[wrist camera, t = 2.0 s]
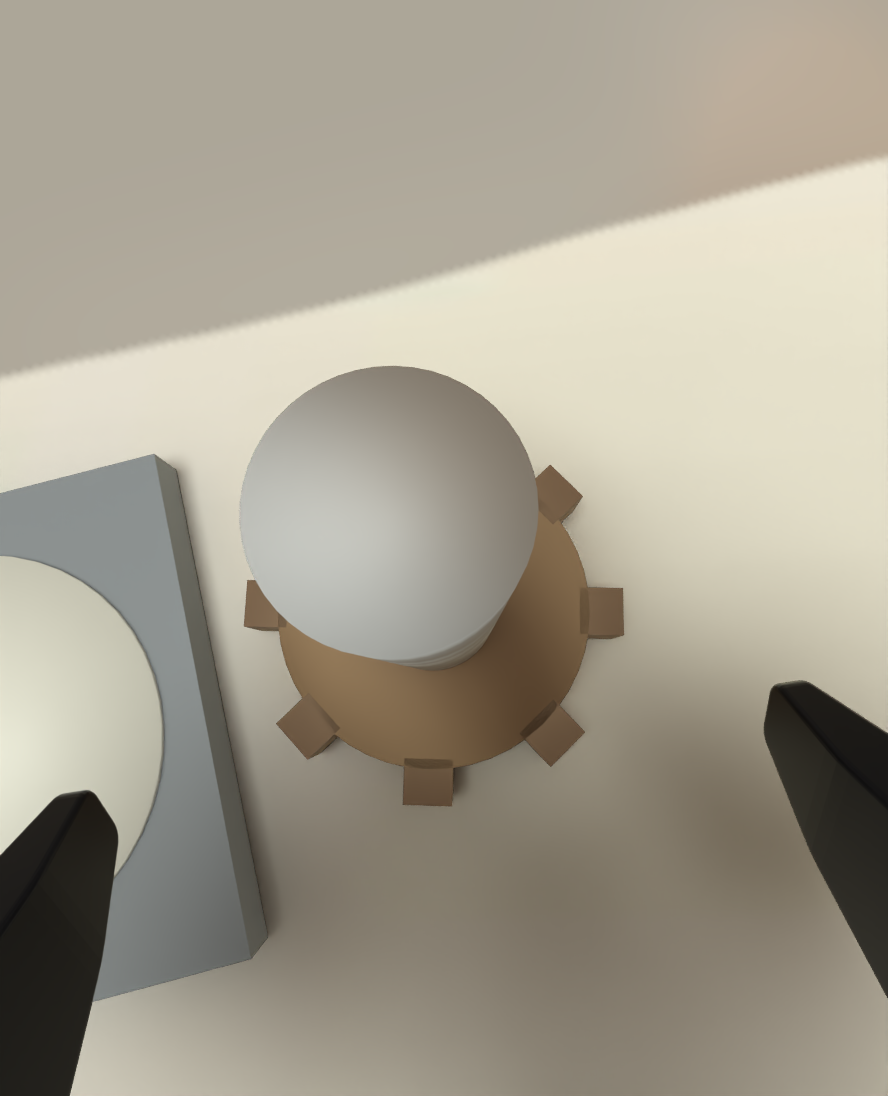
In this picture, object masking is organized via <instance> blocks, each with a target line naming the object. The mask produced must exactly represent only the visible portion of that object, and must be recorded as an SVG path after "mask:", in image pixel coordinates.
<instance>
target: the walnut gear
mask: <svg viewBox="0 0 888 1096" xmlns="http://www.w3.org/2000/svg"><path fill="white" fill-rule="evenodd" d="M582 497H583V496H582V495H581V494H580V493H579V492H578V491H577V490H576V489H575V488H574V487H573V486H572V485H571V484H570V483H569V482H568V481H567V480H566V479H564V478H563V477H562V476H561V475H560V474H559V473H558V472H557V471H556V470H555V469H554V468H553V467H552V466H551V465H549V466H548V467H547V468H546V469H545V470H544V471H543V472H542V473H541V474H540V475H539V476H538V477H537V478H536V479H535V476H534V471H533V468H532V466H531V463H530V460H529V457H528V454H527V452H526V450H525V448H524V446H523V444H522V442H521V440H520V438H519V436H518V435H517V433H516V432H515V430H514V429H513V428H512V426H511V425H510V423H509V422H508V421H507V419H506V418H505V417H504V416H503V415H502V414H501V413H500V412H499V411H498V409H497V408H496V407H495V406H493V405H492V404H491V403H490V402H489V401H488V400H486V399H485V398H484V397H483V396H482V395H480V394H479V393H477V392H476V391H474V390H473V389H471V388H470V387H468V386H466V385H465V384H463V383H460V382H458V381H456V380H454V379H452V378H450V377H448V376H445V375H442V374H439V373H436V372H433V371H429V370H424V369H419V368H414V367H402V366H382V367H371V368H366V369H360V370H355V371H352V372H348V373H345V374H342V375H339V376H336V377H334V378H332V379H329V380H327V381H325V382H323V383H321V384H319V385H317V386H316V387H314V388H312V389H311V390H309V391H307V392H306V393H304V394H303V395H302V396H300V397H299V398H298V399H296V400H295V401H294V402H293V403H291V404H290V405H289V406H288V407H287V408H286V409H285V410H284V411H283V412H282V413H281V414H280V415H279V416H278V417H277V418H276V419H275V421H274V422H273V423H272V424H271V426H270V427H269V428H268V430H267V431H266V432H265V434H264V435H263V437H262V439H261V440H260V442H259V444H258V445H257V447H256V449H255V451H254V453H253V456H252V458H251V460H250V463H249V465H248V467H247V471H246V475H245V478H244V482H243V485H242V492H241V499H240V530H241V538H242V544H243V548H244V552H245V555H246V559H247V562H248V564H249V567H250V569H251V572H252V574H253V576H254V579H255V580H247V592H246V605H245V619H244V627H248V628H252V629H257V630H261V631H279V634H280V642H281V647H282V651H283V654H284V658H285V662H286V665H287V668H288V670H289V672H290V675H291V677H292V680H293V682H294V684H295V686H296V688H297V689H298V691H299V693H300V694H301V696H302V698H303V699H302V700H301V701H299V702H298V703H297V704H296V705H295V706H294V707H293V708H292V709H291V710H290V711H289V712H288V713H287V714H286V715H285V716H284V717H283V718H281V719H280V720H279V721H278V722H277V723H276V724H277V725H278V726H279V728H280V729H281V730H282V731H283V732H284V733H285V734H286V736H287V737H288V738H289V739H290V740H291V741H292V742H293V744H294V745H295V746H296V747H297V748H298V749H299V750H300V752H301V753H302V754H303V755H304V756H305V757H306V758H307V760H308V759H310V758H312V757H314V756H316V755H318V754H320V753H321V752H322V751H323V750H324V749H325V748H326V747H327V746H328V745H329V744H330V743H332V742H333V741H334V740H335V739H336V738H337V737H339V738H341V739H342V740H343V741H345V742H346V743H347V744H349V745H350V746H352V747H354V748H356V749H358V750H359V751H361V752H363V753H365V754H367V755H369V756H371V757H374V758H377V759H379V760H382V761H384V762H387V763H391V764H395V765H400V766H404V786H403V805H426V806H452V800H453V771H454V768H456V767H461V766H467V765H472V764H475V763H478V762H481V761H484V760H487V759H490V758H493V757H495V756H497V755H499V754H501V753H503V752H505V751H507V750H509V749H511V748H512V747H514V746H516V745H517V744H519V743H520V742H522V741H523V740H526V741H527V742H528V743H529V745H530V746H531V747H532V748H533V749H534V750H535V751H536V752H537V753H538V754H539V755H540V756H541V757H542V758H543V759H544V760H545V761H546V762H547V763H548V765H549V766H550V767H551V766H552V765H553V764H554V763H555V762H556V761H557V760H558V759H559V758H560V757H561V756H562V755H563V754H564V753H565V752H566V751H567V750H568V749H569V748H570V747H571V746H572V745H573V744H574V743H575V742H576V741H577V740H578V739H579V738H580V737H581V736H582V735H583V734H584V733H585V732H584V730H583V729H582V728H581V727H580V726H579V725H578V724H577V723H576V722H575V721H574V720H573V719H572V718H571V717H570V716H569V715H568V714H567V713H566V712H565V711H564V710H563V709H562V708H561V707H560V703H561V702H562V700H563V699H564V697H565V696H566V694H567V693H568V691H569V689H570V687H571V685H572V683H573V681H574V679H575V677H576V675H577V673H578V671H579V668H580V665H581V662H582V659H583V656H584V653H585V648H586V643H587V638H596V639H612V638H616V637H620V636H623V635H624V619H623V588H590V587H587V583H586V578H585V573H584V569H583V567H582V564H581V561H580V558H579V555H578V552H577V550H576V548H575V546H574V544H573V542H572V540H571V538H570V536H569V534H568V533H567V531H566V530H565V528H564V527H563V525H562V524H561V522H562V521H563V520H564V519H565V518H566V517H567V516H568V515H569V514H570V513H572V512H573V511H574V509H575V508H576V506H577V504H578V503H579V501H580V500H581V498H582Z"/></svg>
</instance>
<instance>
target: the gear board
mask: <svg viewBox="0 0 888 1096" xmlns="http://www.w3.org/2000/svg"><path fill="white" fill-rule="evenodd" d="M82 790H90V791H92V792H94V793H95V794H96V795H97V797H98V798H99V800H100V801H101V803H102V805H103V806H104V808H105V809H106V811H107V812H108V814H109V815H110V817H111V818H112V820H113V821H114V823H115V825H116V828H117V831H118V850H117V857H116V865H115V872H114V880H113V887H112V894H111V902H110V909H109V917H108V924H107V931H106V939H105V945H104V951H103V957H102V963H101V967H100V972H99V977H98V981H97V985H96V989H95V994H94V998H93V1002H94V1001H98V1000H102V999H105V998H109V997H113V996H117V995H120V994H124V993H128V992H131V991H135V990H139V989H142V988H146V987H150V986H154V985H157V984H161V983H165V982H168V981H172V980H176V979H179V978H183V977H187V976H191V975H194V974H198V973H202V972H205V971H209V970H213V969H216V968H220V967H224V966H228V965H231V964H235V963H239V962H242V961H246V960H250V959H251V958H252V957H253V956H254V955H255V953H256V952H257V951H258V949H259V948H260V947H261V945H262V944H263V943H264V941H265V940H266V939H267V938H268V934H267V929H266V924H265V919H264V914H263V909H262V904H261V899H260V894H259V889H258V884H257V879H256V873H255V868H254V863H253V858H252V853H251V848H250V843H249V838H248V833H247V828H246V823H245V818H244V813H243V807H242V802H241V797H240V792H239V787H238V782H237V777H236V772H235V767H234V762H233V757H232V752H231V746H230V741H229V736H228V731H227V726H226V721H225V716H224V711H223V706H222V701H221V696H220V691H219V686H218V680H217V675H216V670H215V665H214V660H213V655H212V650H211V645H210V640H209V635H208V630H207V625H206V619H205V614H204V609H203V604H202V599H201V594H200V589H199V584H198V579H197V574H196V569H195V564H194V559H193V553H192V548H191V543H190V538H189V533H188V528H187V523H186V518H185V513H184V508H183V503H182V498H181V492H180V487H179V482H178V477H177V472H176V469H174V468H173V467H171V466H170V465H169V464H167V463H166V462H165V461H163V460H162V459H160V458H159V457H158V456H156V455H155V454H152V455H148V456H144V457H140V458H136V459H132V460H128V461H125V462H121V463H117V464H113V465H109V466H105V467H101V468H97V469H93V470H89V471H86V472H82V473H78V474H74V475H70V476H66V477H62V478H58V479H54V480H50V481H47V482H43V483H39V484H35V485H31V486H27V487H23V488H19V489H15V490H11V491H7V492H4V493H0V855H1V854H2V853H3V852H4V850H5V849H6V848H7V847H8V846H9V845H10V844H11V843H12V842H13V841H14V840H15V839H16V838H17V837H18V836H19V835H20V834H21V832H22V831H23V830H24V829H25V828H26V827H27V826H28V825H29V824H30V823H31V822H32V821H33V820H34V819H35V818H36V817H37V816H38V814H39V813H40V812H41V811H42V810H43V809H44V808H45V807H46V806H47V805H48V804H49V803H50V802H51V801H52V800H53V799H54V798H55V797H57V796H58V795H60V794H64V793H69V792H75V791H82Z"/></svg>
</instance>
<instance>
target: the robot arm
mask: <svg viewBox="0 0 888 1096" xmlns="http://www.w3.org/2000/svg"><path fill="white" fill-rule="evenodd" d="M764 735H765V740H766V743H767V746H768V748H769V751H770V753H771V756H772V758H773V761H774V763H775V766H776V768H777V771H778V773H779V776H780V778H781V781H782V783H783V786H784V788H785V791H786V793H787V796H788V798H789V801H790V803H791V806H792V808H793V811H794V813H795V816H796V818H797V821H798V823H799V826H800V828H801V831H802V833H803V836H804V838H805V840H806V843H807V845H808V847H809V850H810V852H811V854H812V856H813V858H814V860H815V862H816V864H817V866H818V868H819V870H820V872H821V874H822V876H823V878H824V880H825V881H826V883H827V885H828V887H829V889H830V891H831V893H832V895H833V896H834V898H835V900H836V902H837V904H838V906H839V908H840V910H841V912H842V913H843V915H844V917H845V919H846V921H847V923H848V925H849V927H850V929H851V930H852V932H853V934H854V936H855V938H856V940H857V942H858V944H859V946H860V947H861V949H862V951H863V953H864V955H865V957H866V959H867V961H868V962H869V964H870V966H871V968H872V970H873V972H874V974H875V976H876V978H877V979H878V981H879V983H880V985H881V987H882V989H883V991H884V993H885V995H886V996H887V998H888V733H887V732H885V731H884V730H882V729H881V728H879V727H878V726H876V725H874V724H873V723H871V722H870V721H868V720H867V719H865V718H864V717H862V716H861V715H859V714H858V713H856V712H855V711H853V710H851V709H850V708H848V707H847V706H845V705H844V704H842V703H841V702H839V701H838V700H836V699H835V698H833V697H831V696H830V695H828V694H827V693H825V692H824V691H822V690H821V689H819V688H818V687H816V686H815V685H813V684H811V683H809V682H807V681H803V680H799V681H792V682H785V683H779V684H776V685H774V686H773V687H772V689H771V691H770V695H769V701H768V706H767V711H766V716H765V722H764ZM117 850H118V831H117V828H116V825H115V823H114V821H113V820H112V818H111V817H110V815H109V814H108V812H107V811H106V809H105V808H104V806H103V805H102V803H101V801H100V800H99V798H98V797H97V795H96V794H95V793H94V792H92V791H90V790H82V791H75V792H69V793H64V794H60V795H58V796H57V797H55V798H54V799H53V800H52V801H51V802H50V803H49V804H48V805H47V806H46V807H45V808H44V809H43V810H42V811H41V812H40V813H39V814H38V816H37V817H36V818H35V819H34V820H33V821H32V822H31V823H30V824H29V825H28V826H27V827H26V828H25V829H24V830H23V831H22V832H21V834H20V835H19V836H18V837H17V838H16V839H15V840H14V841H13V842H12V843H11V844H10V845H9V846H8V847H7V848H6V849H5V850H4V852H3V853H2V854H1V855H0V1096H70V1093H71V1088H72V1084H73V1080H74V1076H75V1072H76V1068H77V1064H78V1060H79V1055H80V1051H81V1047H82V1043H83V1039H84V1035H85V1031H86V1027H87V1022H88V1018H89V1014H90V1010H91V1006H92V1002H93V998H94V994H95V989H96V985H97V981H98V977H99V972H100V967H101V963H102V957H103V951H104V945H105V939H106V931H107V924H108V917H109V909H110V902H111V894H112V887H113V880H114V872H115V865H116V857H117Z"/></svg>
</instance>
